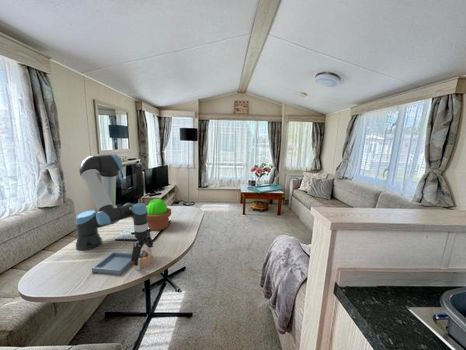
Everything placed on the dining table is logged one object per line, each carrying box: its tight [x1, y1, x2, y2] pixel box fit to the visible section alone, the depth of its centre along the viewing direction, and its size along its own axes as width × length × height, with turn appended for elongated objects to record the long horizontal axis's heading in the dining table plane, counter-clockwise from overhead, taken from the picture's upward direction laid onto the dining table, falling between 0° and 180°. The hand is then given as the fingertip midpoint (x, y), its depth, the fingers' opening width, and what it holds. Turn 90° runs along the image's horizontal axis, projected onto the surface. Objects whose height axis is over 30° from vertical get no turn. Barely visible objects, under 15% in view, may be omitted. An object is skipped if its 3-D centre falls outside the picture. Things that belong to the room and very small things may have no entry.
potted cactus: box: [146, 197, 172, 231], centre depth 175 cm, size 22×22×25 cm
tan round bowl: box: [139, 250, 154, 269], centre depth 125 cm, size 10×10×5 cm
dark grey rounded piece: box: [140, 250, 148, 268], centre depth 125 cm, size 10×10×8 cm
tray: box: [91, 251, 134, 276], centre depth 123 cm, size 17×17×3 cm
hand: (143, 263), depth 125 cm, fingers open, 12 cm apart
